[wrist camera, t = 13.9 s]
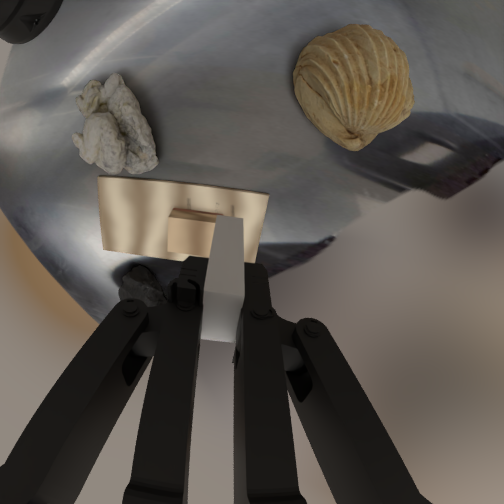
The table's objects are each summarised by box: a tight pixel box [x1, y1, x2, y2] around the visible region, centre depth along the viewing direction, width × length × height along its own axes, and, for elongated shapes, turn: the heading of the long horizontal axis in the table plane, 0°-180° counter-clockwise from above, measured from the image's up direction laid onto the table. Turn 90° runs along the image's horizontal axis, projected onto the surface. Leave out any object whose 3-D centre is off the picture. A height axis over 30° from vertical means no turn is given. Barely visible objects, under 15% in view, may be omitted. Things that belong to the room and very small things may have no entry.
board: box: [98, 176, 269, 263], centre depth 44 cm, size 28×14×1 cm, turn 80°
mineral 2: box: [119, 265, 167, 307], centre depth 49 cm, size 10×9×6 cm
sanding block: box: [167, 208, 223, 257], centre depth 42 cm, size 8×6×4 cm
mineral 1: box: [72, 73, 159, 175], centre depth 31 cm, size 12×17×10 cm
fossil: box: [293, 24, 414, 151], centre depth 27 cm, size 15×17×15 cm
